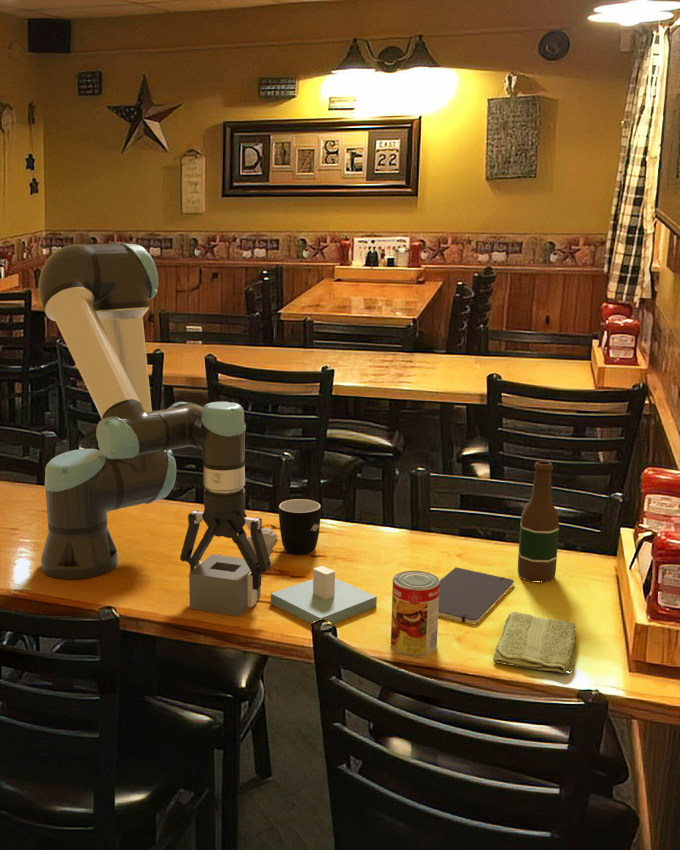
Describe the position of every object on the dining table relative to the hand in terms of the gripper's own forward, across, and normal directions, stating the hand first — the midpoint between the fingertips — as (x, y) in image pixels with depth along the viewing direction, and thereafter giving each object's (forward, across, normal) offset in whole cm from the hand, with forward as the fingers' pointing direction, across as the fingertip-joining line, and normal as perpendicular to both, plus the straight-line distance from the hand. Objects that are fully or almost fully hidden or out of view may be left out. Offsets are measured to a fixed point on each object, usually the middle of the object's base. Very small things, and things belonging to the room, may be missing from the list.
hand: (225, 600), depth 174 cm
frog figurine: (+1, -1, +22) cm, 22 cm away
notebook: (+1, +42, +17) cm, 46 cm away
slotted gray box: (0, 0, 0) cm, 0 cm away
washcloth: (+1, +58, 0) cm, 58 cm away
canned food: (0, +37, -5) cm, 38 cm away
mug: (+1, +4, +31) cm, 31 cm away
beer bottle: (0, +54, +32) cm, 63 cm away
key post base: (0, +18, +5) cm, 18 cm away
